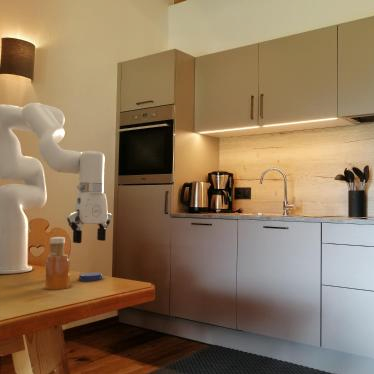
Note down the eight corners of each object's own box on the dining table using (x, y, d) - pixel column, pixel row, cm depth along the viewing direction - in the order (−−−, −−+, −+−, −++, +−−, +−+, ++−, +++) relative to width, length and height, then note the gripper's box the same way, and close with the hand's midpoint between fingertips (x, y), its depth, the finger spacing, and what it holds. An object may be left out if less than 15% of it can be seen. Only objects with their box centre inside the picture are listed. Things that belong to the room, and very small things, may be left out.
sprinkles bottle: (65, 278, 137) (66, 237, 138) (50, 280, 135) (51, 238, 135) (63, 276, 141) (63, 236, 141) (48, 278, 138) (48, 237, 139)
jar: (41, 287, 123) (41, 255, 123) (62, 284, 128) (63, 253, 128) (52, 290, 119) (52, 257, 119) (73, 287, 124) (74, 255, 124)
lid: (103, 280, 135) (104, 274, 135) (81, 282, 132) (81, 276, 132) (99, 276, 141) (99, 271, 141) (77, 278, 137) (77, 273, 138)
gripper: (77, 188, 128) (75, 244, 128) (119, 190, 143) (117, 240, 143) (60, 188, 131) (58, 243, 131) (103, 189, 147) (102, 238, 146)
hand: (89, 241), depth 137 cm, fingers open, 9 cm apart
